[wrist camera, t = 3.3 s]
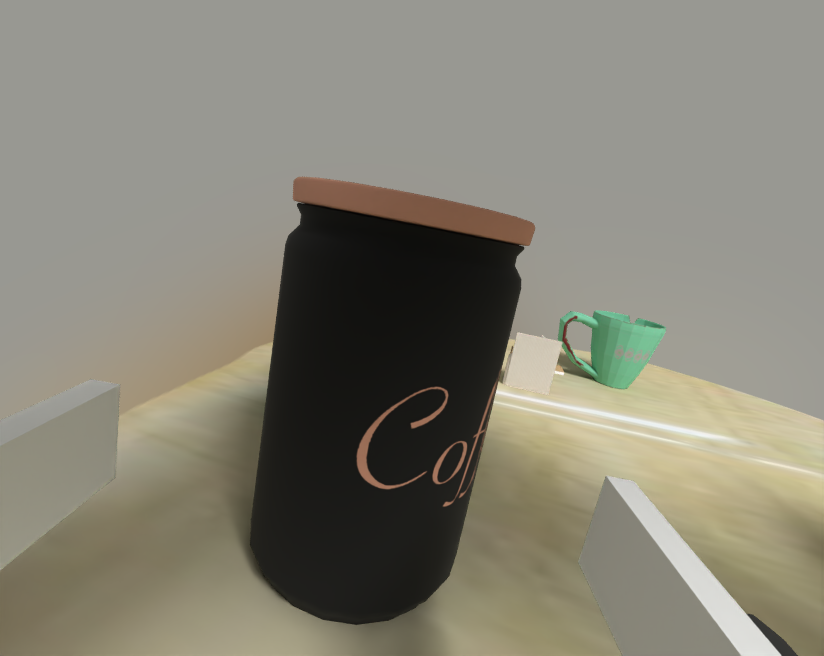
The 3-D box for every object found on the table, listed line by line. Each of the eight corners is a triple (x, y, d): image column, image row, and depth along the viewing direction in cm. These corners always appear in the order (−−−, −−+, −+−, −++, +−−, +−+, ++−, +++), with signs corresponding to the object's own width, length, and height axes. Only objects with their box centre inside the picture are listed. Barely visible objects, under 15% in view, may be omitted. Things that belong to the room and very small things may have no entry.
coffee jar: (327, 692, 16) (420, 187, 12) (210, 524, 23) (246, 169, 19) (491, 569, 24) (580, 234, 20) (366, 471, 31) (414, 209, 27)
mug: (626, 377, 72) (645, 318, 70) (658, 400, 62) (681, 332, 60) (538, 361, 72) (554, 301, 69) (557, 382, 62) (576, 313, 60)
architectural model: (501, 380, 60) (514, 327, 58) (553, 392, 59) (568, 338, 57) (501, 388, 56) (515, 332, 55) (557, 401, 56) (572, 344, 54)
